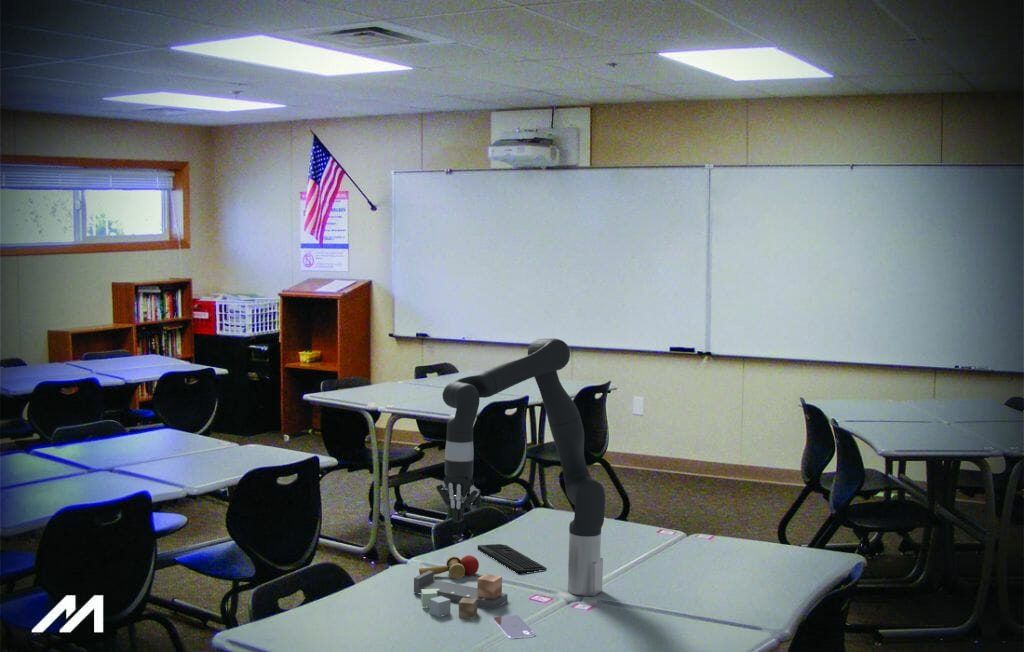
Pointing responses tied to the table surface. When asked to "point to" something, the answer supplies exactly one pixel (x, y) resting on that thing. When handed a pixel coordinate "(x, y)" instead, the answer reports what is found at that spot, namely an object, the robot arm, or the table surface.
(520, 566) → the keyboard
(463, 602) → the cube walnut
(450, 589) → the rail board
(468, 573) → the kendama
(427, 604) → the cube sage
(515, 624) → the mobile phone
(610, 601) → the table surface
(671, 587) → the table surface
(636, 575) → the table surface
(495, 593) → the slider
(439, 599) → the cube slate
